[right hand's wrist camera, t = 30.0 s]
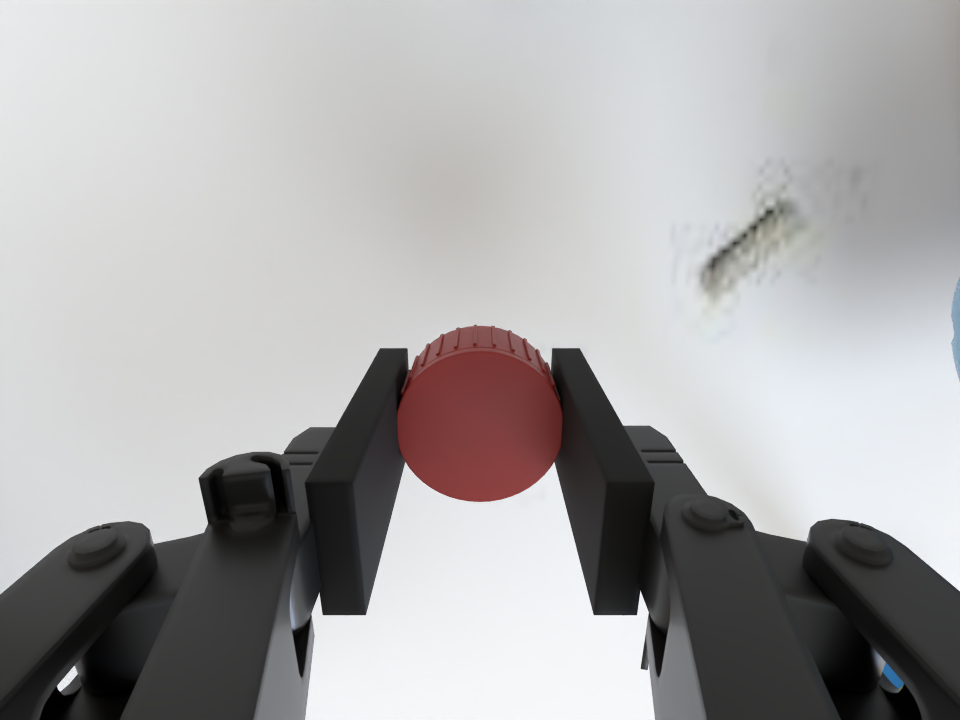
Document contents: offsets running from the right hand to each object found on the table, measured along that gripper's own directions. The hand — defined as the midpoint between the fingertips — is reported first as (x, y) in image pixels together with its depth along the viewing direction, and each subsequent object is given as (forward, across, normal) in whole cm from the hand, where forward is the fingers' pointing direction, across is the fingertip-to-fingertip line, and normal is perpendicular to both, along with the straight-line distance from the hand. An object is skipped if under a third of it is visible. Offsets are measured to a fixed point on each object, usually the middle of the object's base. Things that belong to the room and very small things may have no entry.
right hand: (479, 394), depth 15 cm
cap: (-2, 0, 0) cm, 2 cm away
